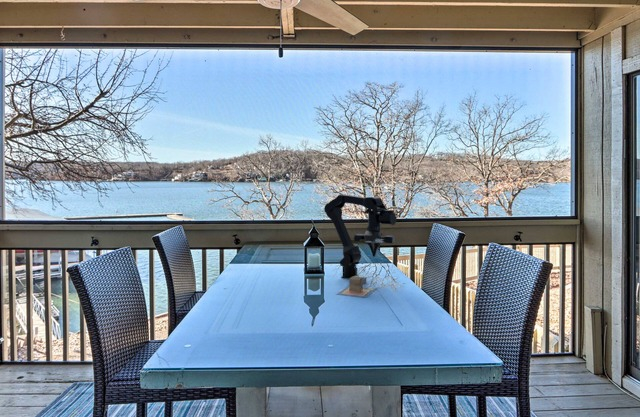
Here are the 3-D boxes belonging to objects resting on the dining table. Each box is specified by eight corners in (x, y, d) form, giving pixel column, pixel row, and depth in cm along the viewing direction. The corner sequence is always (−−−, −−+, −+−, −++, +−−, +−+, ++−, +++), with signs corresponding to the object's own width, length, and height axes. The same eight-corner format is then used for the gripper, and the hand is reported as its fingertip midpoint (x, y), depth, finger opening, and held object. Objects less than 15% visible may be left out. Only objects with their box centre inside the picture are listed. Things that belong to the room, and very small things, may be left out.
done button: (352, 282, 194) (352, 277, 194) (355, 279, 198) (355, 275, 198) (361, 282, 192) (361, 278, 192) (364, 280, 196) (364, 276, 196)
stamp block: (352, 289, 184) (352, 276, 184) (362, 290, 182) (362, 277, 182) (349, 292, 180) (349, 278, 179) (359, 293, 178) (359, 279, 178)
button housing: (349, 284, 194) (349, 279, 194) (354, 281, 199) (354, 276, 199) (362, 285, 191) (362, 280, 191) (366, 282, 197) (366, 277, 197)
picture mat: (336, 294, 178) (336, 293, 178) (348, 285, 191) (348, 285, 191) (365, 297, 172) (365, 297, 172) (376, 288, 186) (376, 288, 186)
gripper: (349, 224, 193) (349, 258, 194) (389, 226, 185) (389, 261, 186) (357, 222, 203) (357, 254, 204) (395, 223, 195) (395, 256, 196)
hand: (374, 256), depth 197 cm, fingers closed
